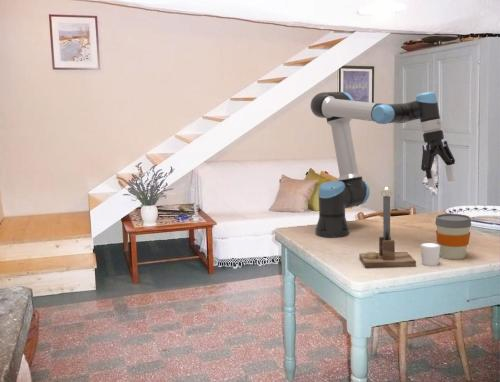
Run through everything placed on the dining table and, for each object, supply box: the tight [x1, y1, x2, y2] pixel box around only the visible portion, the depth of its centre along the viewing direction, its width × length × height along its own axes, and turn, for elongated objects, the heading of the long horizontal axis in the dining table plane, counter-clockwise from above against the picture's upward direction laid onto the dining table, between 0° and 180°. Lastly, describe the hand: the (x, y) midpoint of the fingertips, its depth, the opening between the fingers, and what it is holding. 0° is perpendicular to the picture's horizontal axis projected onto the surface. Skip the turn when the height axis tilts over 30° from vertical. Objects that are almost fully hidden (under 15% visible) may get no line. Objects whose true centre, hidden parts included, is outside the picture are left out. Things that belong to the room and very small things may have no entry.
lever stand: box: [358, 236, 417, 269], centre depth 194 cm, size 12×18×9 cm, turn 89°
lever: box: [380, 186, 393, 246], centre depth 192 cm, size 4×4×24 cm
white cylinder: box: [420, 242, 440, 267], centre depth 191 cm, size 7×7×7 cm
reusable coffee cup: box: [435, 213, 472, 260], centre depth 198 cm, size 13×13×15 cm
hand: (442, 183), depth 209 cm, fingers open, 13 cm apart
